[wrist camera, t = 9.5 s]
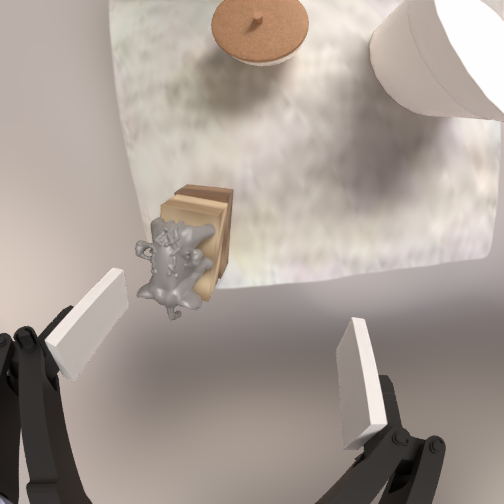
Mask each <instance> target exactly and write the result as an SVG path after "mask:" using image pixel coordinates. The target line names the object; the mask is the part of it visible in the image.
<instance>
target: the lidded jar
mask: <svg viewBox="0 0 504 504" xmlns="http://www.w3.org/2000/svg"><path fill="white" fill-rule="evenodd" d="M308 25H309V21H308V15H307V12H306V10H305V8H304V7H303V5H302V4H301V3H300V2H299V1H298V0H224V1H223V2H221V4H220V5H219V6H218V7H217V9H216V11H215V12H214V15H213V18H212V24H211V26H212V33H213V36H214V39H215V41H216V42H217V44H218V45H219V46H220V47H221V48H222V49H223V50H224V51H225V52H226V53H228V54H229V55H231V56H232V57H234V58H235V59H237V60H239V61H241V62H243V63H246V64H249V65H254V66H271V65H276V64H279V63H282V62H284V61H286V60H288V59H289V58H291V57H292V56H293V55H295V54H296V53H297V52H298V50H299V49H300V48H301V46H302V44H303V42H304V40H305V38H306V35H307V32H308Z"/></svg>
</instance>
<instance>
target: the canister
mask: <svg viewBox="0 0 504 504" xmlns="http://www.w3.org/2000/svg"><path fill="white" fill-rule="evenodd" d="M369 49H370V62H371V64H372V67H373V70H374V72H375V75H376V78H377V79H378V81H379V82H380V83H381V85H382V86H383V88H384V89H385V91H386V92H387V93H388V94H389V95H390V96H391V97H392V98H393V99H394V100H395V101H396V102H397V103H398V104H399V105H401V106H403V107H405V108H406V109H408V110H410V111H412V112H413V113H417V114H421V115H425V116H439V117H461V118H475V119H485V120H495V121H502V122H504V0H404V1H403V2H402V3H401V4H400V5H399V6H398V7H397V8H396V9H395V10H394V11H393V12H392V13H391V14H390V15H389V16H388V17H387V18H386V19H385V20H384V21H383V22H382V24H381V25H380V26H379V27H378V28H377V29H376V30H375V31H374V32H373V35H372V38H371V42H370V45H369Z"/></svg>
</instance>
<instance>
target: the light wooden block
mask: <svg viewBox="0 0 504 504" xmlns="http://www.w3.org/2000/svg"><path fill="white" fill-rule="evenodd" d="M227 207H228V203H223V202H218V201H212V200H207V199H202V198H196V197H191V196H185V195H179V194H177V195H175V196H174V197H172V198H171V199H169V200H168V201H166V202H165V203H163V204H162V205H161V214H160V217H161V218H163V219H164V221H165V222H168V221H170V220H174V221H175V224H177V223H178V222H179V221H183V222H184V223H185V224H186V225H192V226H194V227H197V226H204V225H205V224H208V223H210V224H212V225H214V227H215V229H216V233H215V235H214V236H212V237H211V238H206V239H204V240H202V241H201V242H200V243H199V244H198V245H197V246H196V248H195V249H199V250H201V251H202V253H203V257H209V258H210V259H211V260H212V261H213V266H212V268H211V269H209V270H206V271H204V273H203V274H202V275H201V277H200V278H199V280H198V281H197V282H196V284H195V285H194V287H193V288H192V290H193V291H194V292H196V293H197V294H198V295H199V296H200V297H201V299H202V300H204V301H209V299H210V297H211V295H212V292H213V290H214V288H215V286H216V284H217V281H218V273H219V265H220V258H221V250H222V243H223V235H224V228H225V221H226V214H227Z"/></svg>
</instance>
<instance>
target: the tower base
mask: <svg viewBox="0 0 504 504" xmlns="http://www.w3.org/2000/svg"><path fill="white" fill-rule="evenodd" d="M177 194H179V195H185V196H191V197H196V198H202V199H207V200H212V201H218V202H223V203H228V207H227V214H226V221H225V228H224V235H223V243H222V250H221V258H220V265H219V273H218V278H220V279H221V277H222V275H223V273H224V270H225V268H226V266H227V264H228V255H229V240H230V226H231V213H232V200H233V189H225V188H216V187H207V186H197V185H186V186H184V187H183V188H181V189H180V190H178V191H176V192H175V195H177Z"/></svg>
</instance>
